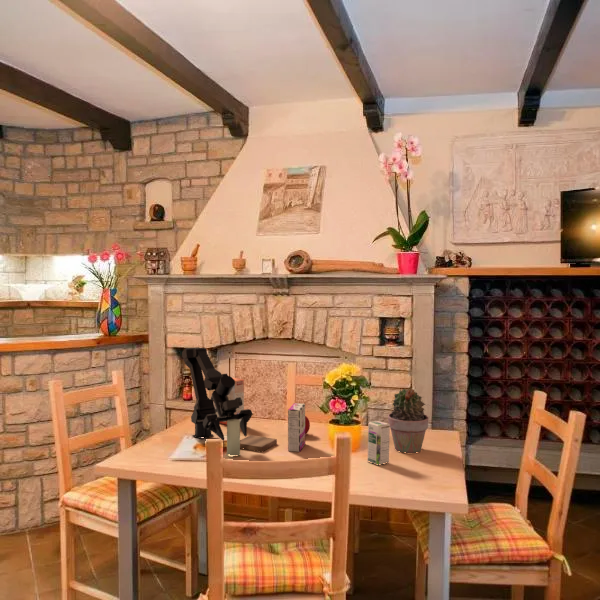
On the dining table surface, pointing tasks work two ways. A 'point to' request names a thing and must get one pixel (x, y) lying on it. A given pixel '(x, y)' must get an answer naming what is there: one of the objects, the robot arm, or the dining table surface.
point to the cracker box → (236, 395)
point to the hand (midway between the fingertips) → (235, 437)
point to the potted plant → (408, 421)
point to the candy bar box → (296, 427)
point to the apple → (307, 425)
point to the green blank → (233, 437)
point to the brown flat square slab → (257, 443)
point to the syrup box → (378, 442)
